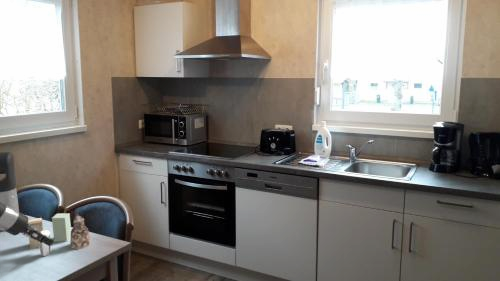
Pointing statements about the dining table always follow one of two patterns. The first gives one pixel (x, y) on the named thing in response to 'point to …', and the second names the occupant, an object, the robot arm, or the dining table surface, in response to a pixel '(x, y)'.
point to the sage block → (61, 227)
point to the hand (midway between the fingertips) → (48, 241)
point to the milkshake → (42, 246)
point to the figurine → (79, 234)
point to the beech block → (38, 225)
